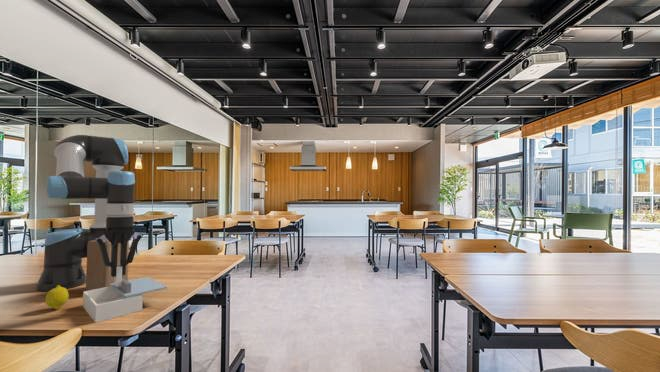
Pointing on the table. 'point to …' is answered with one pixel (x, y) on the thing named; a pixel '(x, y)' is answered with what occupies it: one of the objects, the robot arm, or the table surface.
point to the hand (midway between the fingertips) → (117, 285)
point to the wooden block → (101, 266)
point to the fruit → (57, 297)
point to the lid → (138, 286)
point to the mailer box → (109, 303)
